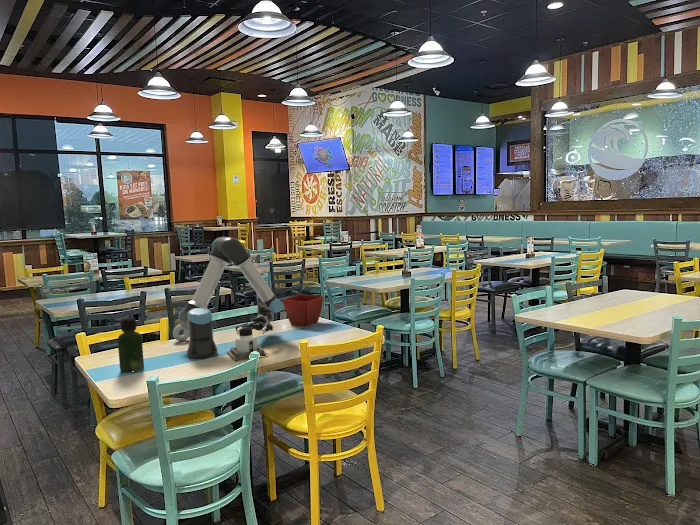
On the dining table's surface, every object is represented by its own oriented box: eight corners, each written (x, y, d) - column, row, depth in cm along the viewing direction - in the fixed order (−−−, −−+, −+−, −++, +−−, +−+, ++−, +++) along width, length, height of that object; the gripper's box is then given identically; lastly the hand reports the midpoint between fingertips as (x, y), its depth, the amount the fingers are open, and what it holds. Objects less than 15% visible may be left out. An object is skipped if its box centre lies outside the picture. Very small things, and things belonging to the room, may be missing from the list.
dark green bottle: (148, 368, 243) (143, 317, 240) (126, 374, 235) (121, 321, 232) (137, 364, 249) (133, 314, 247) (116, 370, 242) (112, 318, 239)
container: (257, 351, 262) (256, 326, 260) (247, 355, 255) (246, 330, 254) (246, 349, 266) (244, 325, 264) (236, 353, 259) (234, 328, 258)
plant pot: (307, 328, 312) (306, 301, 310) (283, 325, 322) (281, 299, 320) (325, 321, 328) (324, 296, 326) (301, 319, 338) (300, 294, 336)
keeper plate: (234, 361, 249) (234, 355, 249) (226, 353, 264) (226, 347, 264) (268, 356, 257) (267, 350, 256) (258, 348, 272) (258, 342, 271)
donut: (174, 343, 288) (173, 326, 287) (172, 342, 291) (171, 324, 290) (192, 340, 294) (190, 323, 293) (190, 338, 297) (188, 322, 295)
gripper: (282, 328, 286) (274, 338, 265) (239, 329, 288) (227, 339, 267) (281, 315, 286) (273, 324, 265) (238, 316, 287) (226, 325, 266)
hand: (250, 332), depth 266 cm, fingers open, 13 cm apart
